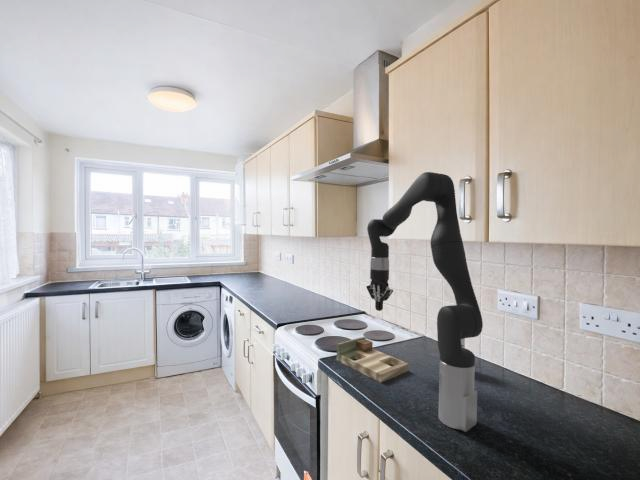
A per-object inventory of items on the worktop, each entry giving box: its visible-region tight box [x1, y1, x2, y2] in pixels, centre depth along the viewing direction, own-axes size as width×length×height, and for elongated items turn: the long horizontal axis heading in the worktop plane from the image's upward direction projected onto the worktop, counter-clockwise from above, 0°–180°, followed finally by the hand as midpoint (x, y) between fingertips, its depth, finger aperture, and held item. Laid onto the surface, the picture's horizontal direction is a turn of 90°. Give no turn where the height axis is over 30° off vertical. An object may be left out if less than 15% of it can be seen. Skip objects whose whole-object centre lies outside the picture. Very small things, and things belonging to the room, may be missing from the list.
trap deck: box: [336, 336, 409, 384], centre depth 126 cm, size 24×16×7 cm, turn 37°
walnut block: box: [356, 338, 374, 352], centre depth 136 cm, size 5×5×4 cm
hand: (378, 310), depth 128 cm, fingers closed
